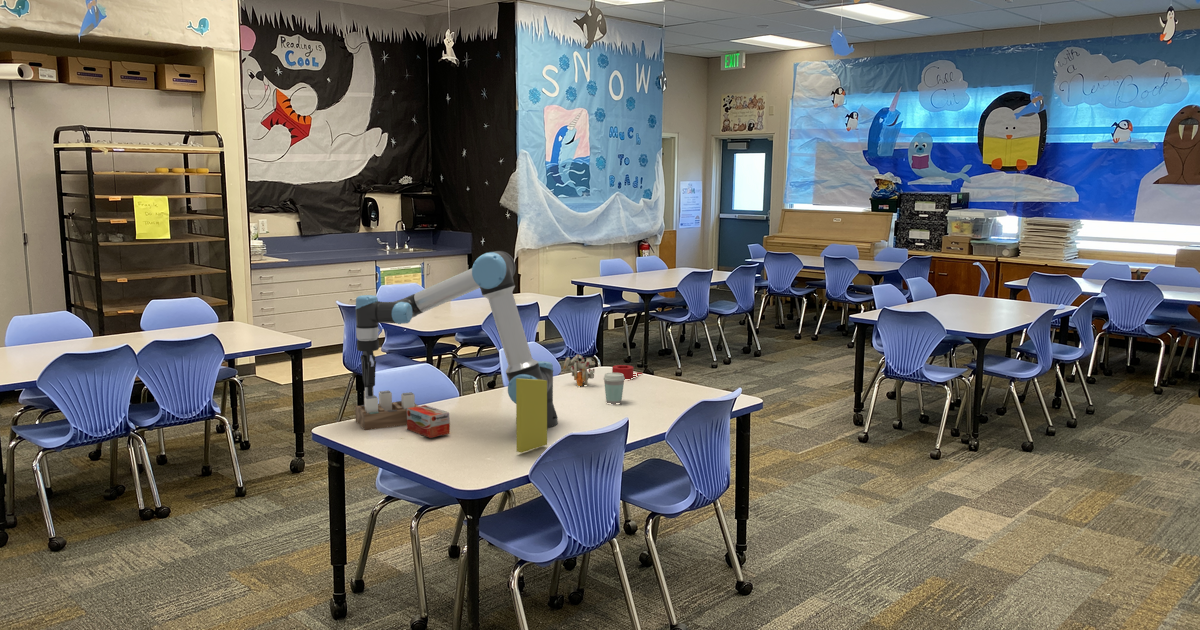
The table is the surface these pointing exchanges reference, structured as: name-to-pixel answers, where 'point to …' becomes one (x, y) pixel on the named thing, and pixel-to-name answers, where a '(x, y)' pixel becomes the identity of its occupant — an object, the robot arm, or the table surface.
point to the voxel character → (583, 374)
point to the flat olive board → (531, 414)
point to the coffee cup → (614, 387)
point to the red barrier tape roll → (625, 371)
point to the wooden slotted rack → (382, 417)
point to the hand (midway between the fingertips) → (369, 404)
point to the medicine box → (428, 421)
